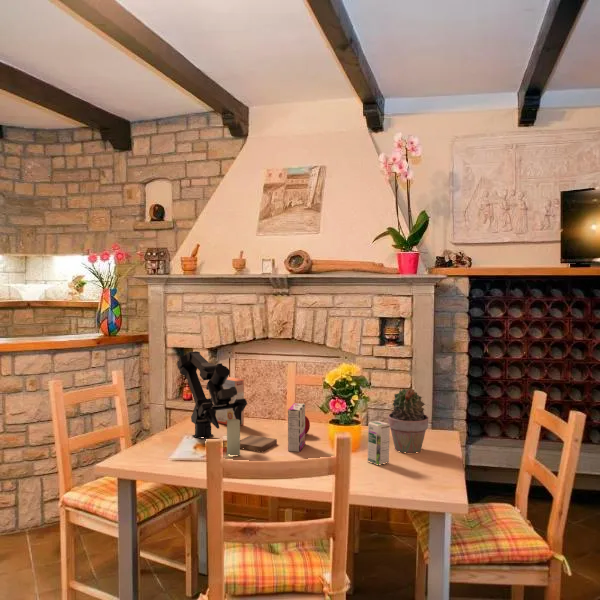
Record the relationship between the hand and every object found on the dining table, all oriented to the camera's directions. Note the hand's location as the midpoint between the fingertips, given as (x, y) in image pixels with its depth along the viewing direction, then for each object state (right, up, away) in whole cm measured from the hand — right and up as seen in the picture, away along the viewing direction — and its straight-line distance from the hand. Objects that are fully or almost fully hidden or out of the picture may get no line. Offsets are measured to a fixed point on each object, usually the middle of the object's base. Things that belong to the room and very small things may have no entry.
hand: (229, 426), depth 209 cm
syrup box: (+55, -11, -10) cm, 57 cm away
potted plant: (+68, -11, +7) cm, 69 cm away
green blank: (+2, -10, -2) cm, 11 cm away
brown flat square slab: (+9, -10, +9) cm, 17 cm away
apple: (+26, -10, +26) cm, 38 cm away
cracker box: (-6, -9, +43) cm, 44 cm away
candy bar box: (+25, -10, +8) cm, 28 cm away
